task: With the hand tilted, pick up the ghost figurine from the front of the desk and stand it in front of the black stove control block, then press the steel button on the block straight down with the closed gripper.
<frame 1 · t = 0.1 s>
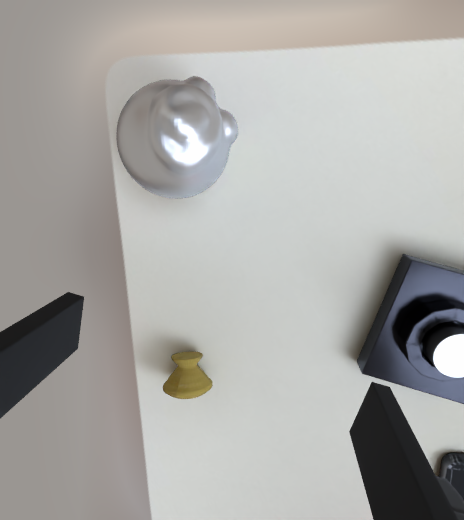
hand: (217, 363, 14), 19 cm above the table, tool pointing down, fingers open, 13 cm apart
ghost figurine: (193, 145, 30), on the table
stove button: (453, 349, 27), point 5 cm above the table, slide at 0.1 cm
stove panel: (428, 324, 32), on the table
knob: (193, 361, 37), on the table
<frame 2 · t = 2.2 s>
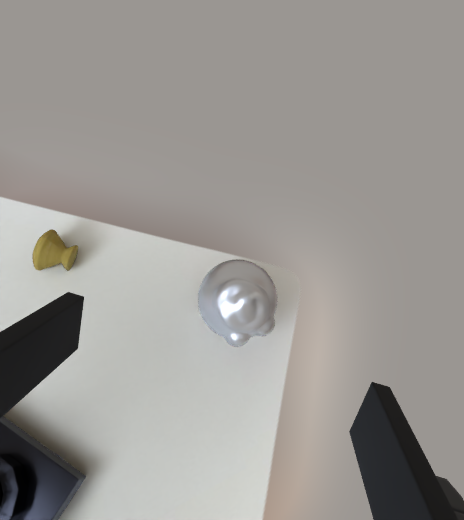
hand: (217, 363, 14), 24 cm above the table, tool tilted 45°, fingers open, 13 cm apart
ghost figurine: (234, 315, 40), on the table
knob: (63, 261, 42), on the table
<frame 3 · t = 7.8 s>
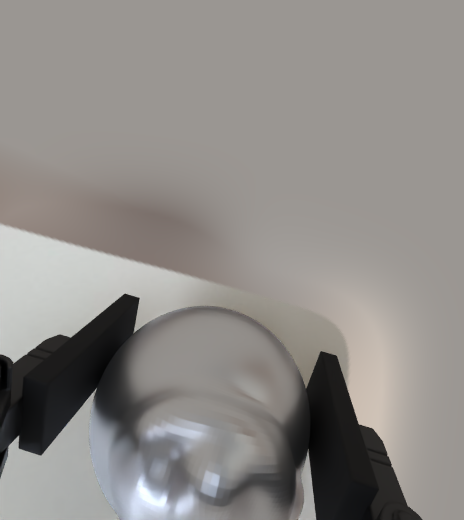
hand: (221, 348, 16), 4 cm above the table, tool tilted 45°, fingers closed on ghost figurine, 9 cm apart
ghost figurine: (202, 423, 18), on the table, touching gripper
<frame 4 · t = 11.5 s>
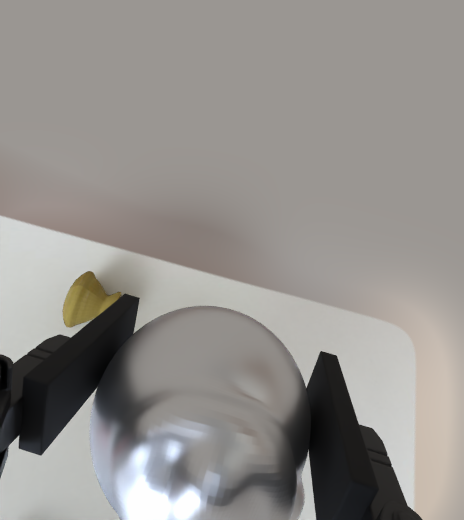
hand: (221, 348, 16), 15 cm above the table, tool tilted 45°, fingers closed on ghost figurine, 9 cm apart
ghost figurine: (203, 422, 18), point 11 cm above the table, touching gripper
knob: (100, 311, 31), on the table
when the fingers open (4 cm above the table, at t = 15.7 s): ghost figurine stays where it is, on the table.
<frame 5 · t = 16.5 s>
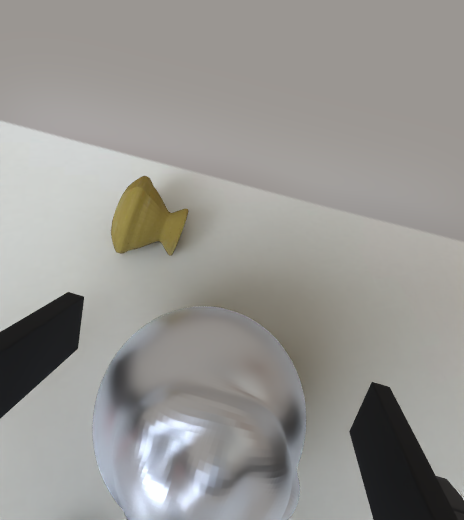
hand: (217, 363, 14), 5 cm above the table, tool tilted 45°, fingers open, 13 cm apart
ghost figurine: (202, 420, 18), on the table
knob: (155, 240, 23), on the table
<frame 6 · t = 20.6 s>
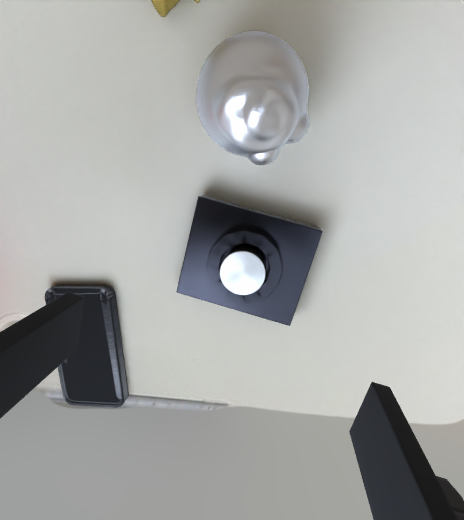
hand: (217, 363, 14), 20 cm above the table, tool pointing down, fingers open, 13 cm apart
ghost figurine: (256, 114, 30), on the table
stove button: (243, 270, 29), point 5 cm above the table, slide at 0.1 cm
phone: (91, 344, 39), on the table
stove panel: (247, 258, 34), on the table
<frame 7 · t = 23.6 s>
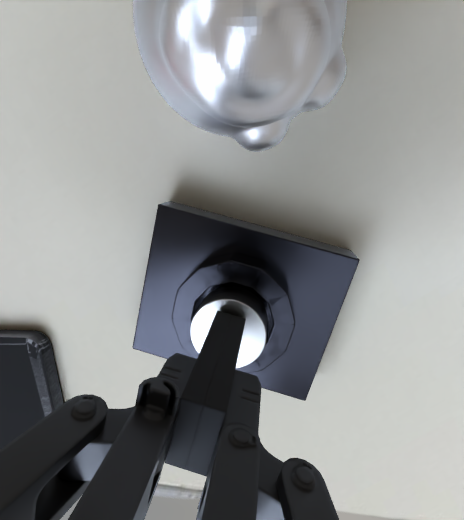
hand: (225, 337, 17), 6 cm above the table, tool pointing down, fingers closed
ghost figurine: (250, 68, 19), on the table
stove button: (230, 326, 18), point 5 cm above the table, slide at 0.1 cm, touching gripper
phone: (24, 408, 28), on the table
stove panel: (239, 295, 22), on the table
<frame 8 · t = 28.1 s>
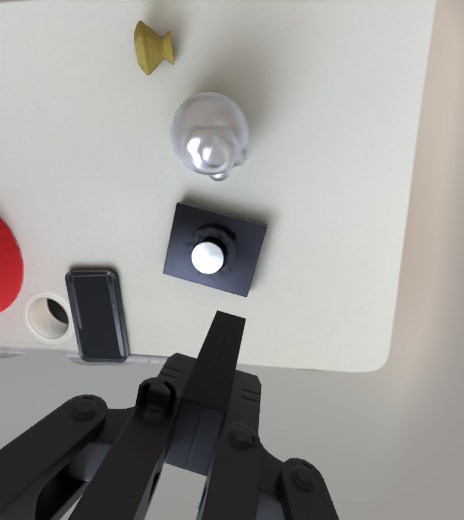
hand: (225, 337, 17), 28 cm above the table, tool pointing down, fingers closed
ghost figurine: (218, 141, 41), on the table
stove button: (209, 255, 41), point 5 cm above the table, slide at 0.1 cm
phone: (100, 315, 50), on the table
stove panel: (215, 247, 45), on the table
knob: (161, 55, 40), on the table
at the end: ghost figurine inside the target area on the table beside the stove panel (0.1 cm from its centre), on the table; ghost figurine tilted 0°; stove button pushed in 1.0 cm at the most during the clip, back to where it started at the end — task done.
